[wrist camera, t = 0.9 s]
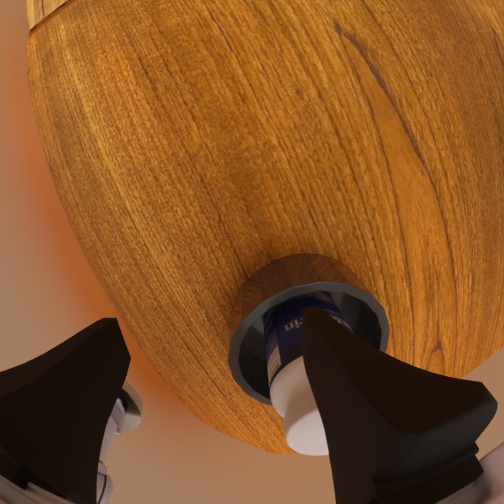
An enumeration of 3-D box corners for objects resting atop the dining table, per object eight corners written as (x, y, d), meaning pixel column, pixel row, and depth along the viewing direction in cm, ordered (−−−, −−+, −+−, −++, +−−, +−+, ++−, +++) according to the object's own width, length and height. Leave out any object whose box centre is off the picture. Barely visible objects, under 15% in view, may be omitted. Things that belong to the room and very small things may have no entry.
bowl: (319, 380, 22) (331, 417, 18) (210, 345, 21) (204, 386, 16) (387, 286, 19) (416, 315, 15) (271, 228, 18) (279, 251, 13)
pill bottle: (346, 287, 19) (412, 384, 9) (330, 350, 21) (370, 452, 11) (265, 285, 19) (284, 399, 9) (259, 351, 20) (268, 464, 11)
